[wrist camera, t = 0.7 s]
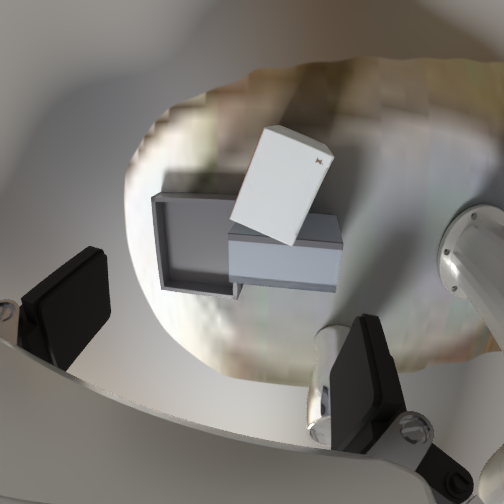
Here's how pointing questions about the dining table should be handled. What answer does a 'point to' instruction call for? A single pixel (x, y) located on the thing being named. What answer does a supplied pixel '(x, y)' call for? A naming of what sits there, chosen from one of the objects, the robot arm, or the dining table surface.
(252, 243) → the grey rectangular block
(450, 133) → the dining table surface
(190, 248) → the tray
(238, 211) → the small box
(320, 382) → the beer glass
